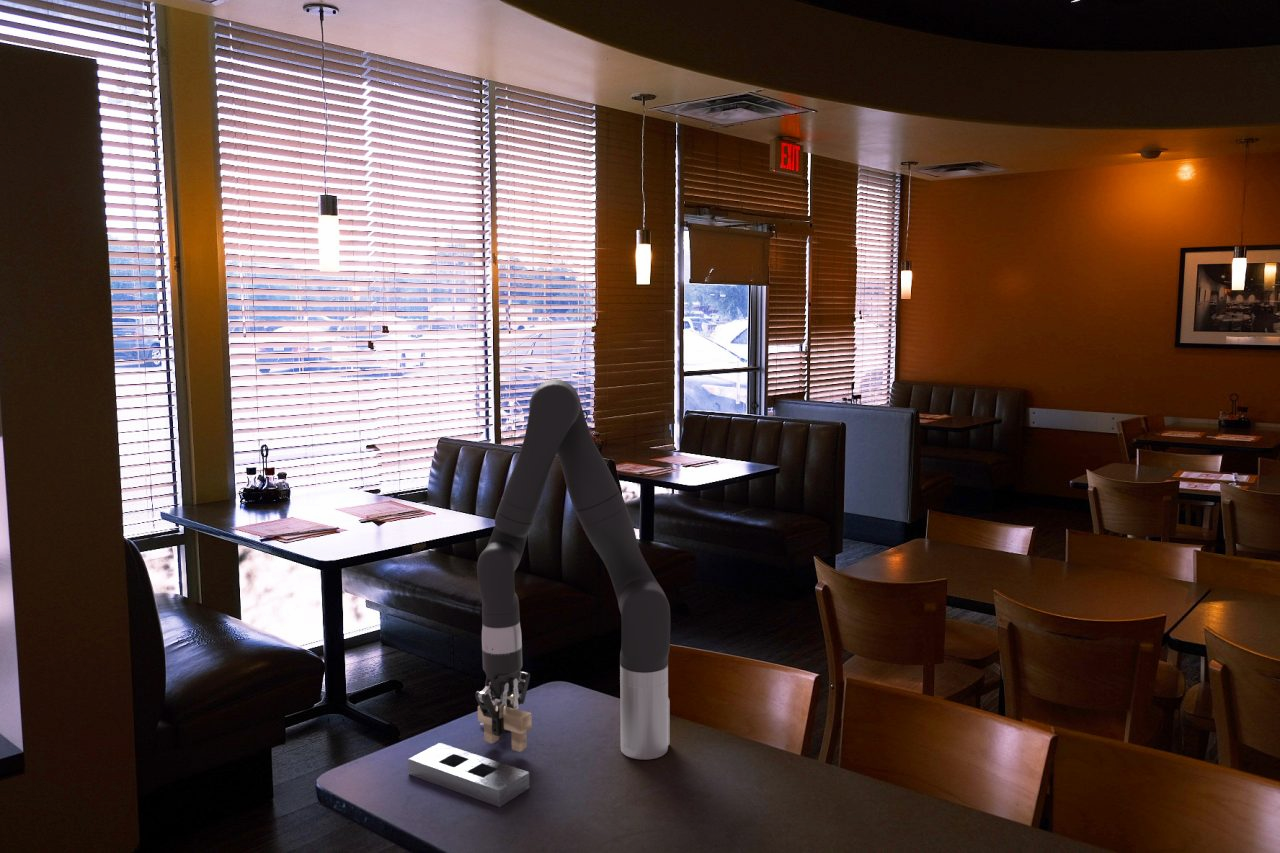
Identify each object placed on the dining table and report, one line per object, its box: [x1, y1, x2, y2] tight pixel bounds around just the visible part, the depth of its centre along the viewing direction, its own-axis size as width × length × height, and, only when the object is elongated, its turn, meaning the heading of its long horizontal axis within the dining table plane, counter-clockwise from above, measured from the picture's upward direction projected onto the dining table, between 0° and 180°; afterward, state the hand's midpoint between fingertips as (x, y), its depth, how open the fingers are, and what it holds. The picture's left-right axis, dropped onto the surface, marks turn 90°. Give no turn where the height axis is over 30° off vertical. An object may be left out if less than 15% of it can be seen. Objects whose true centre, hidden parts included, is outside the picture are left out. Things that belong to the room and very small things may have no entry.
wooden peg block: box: [477, 705, 533, 753], centre depth 186 cm, size 3×11×7 cm, turn 57°
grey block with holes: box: [408, 742, 530, 808], centre depth 175 cm, size 8×22×3 cm, turn 57°
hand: (505, 731), depth 186 cm, fingers closed on wooden peg block, 3 cm apart
